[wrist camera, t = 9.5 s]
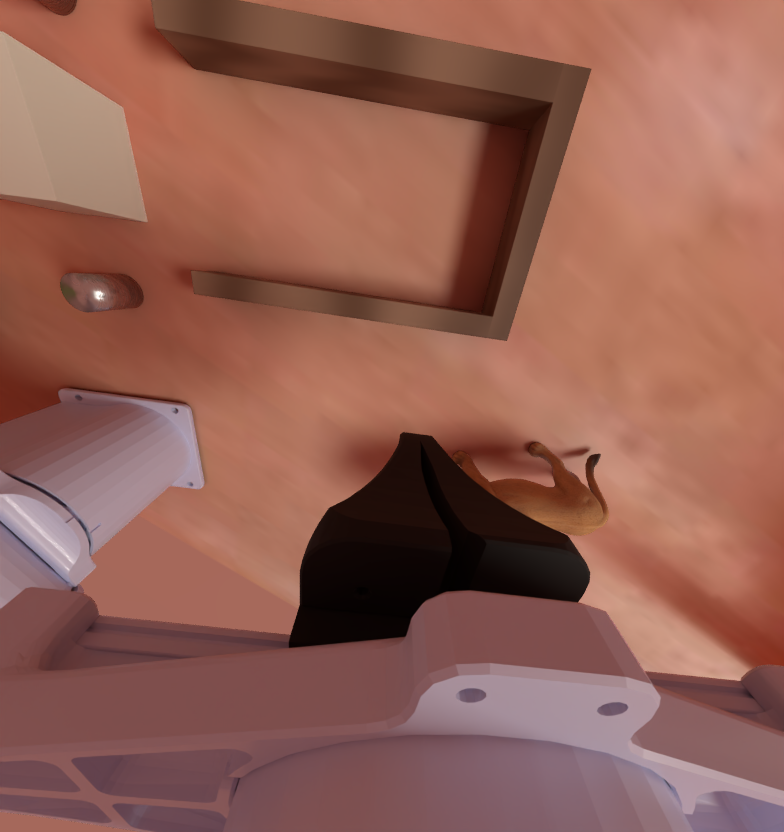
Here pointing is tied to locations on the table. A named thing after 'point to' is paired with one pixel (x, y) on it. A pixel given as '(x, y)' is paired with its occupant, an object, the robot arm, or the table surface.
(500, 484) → the lion figurine
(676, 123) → the table surface
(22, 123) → the cube
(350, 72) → the stall
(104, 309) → the posts
